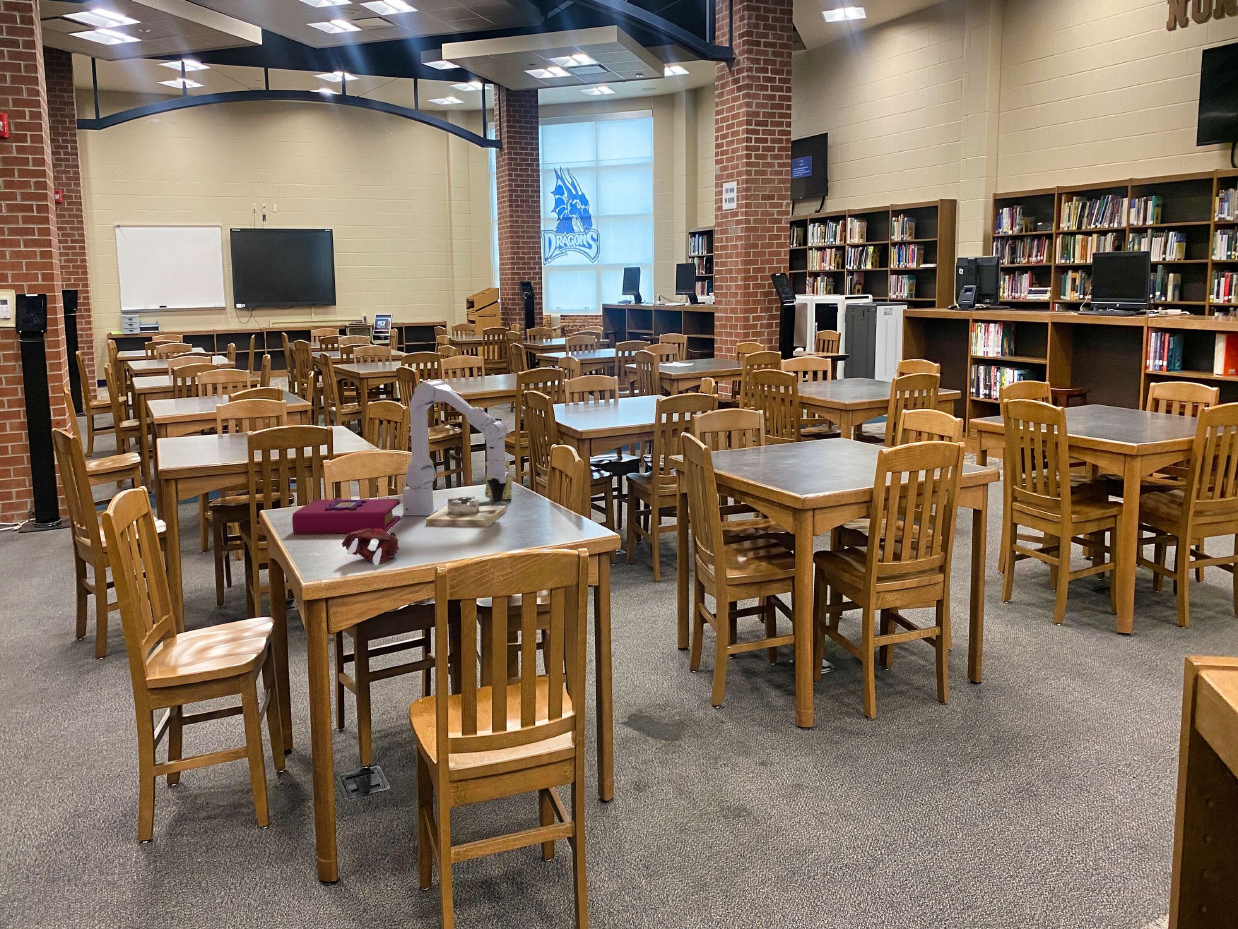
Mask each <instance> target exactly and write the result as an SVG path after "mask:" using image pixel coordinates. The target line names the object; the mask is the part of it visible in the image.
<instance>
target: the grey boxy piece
mask: <svg viewBox="0 0 1238 929" xmlns="http://www.w3.org/2000/svg"><path fill="white" fill-rule="evenodd" d="M490 496H491V500H483V501H480V500H479V499H476V497H475V495H473V496H472V495H467V496H460V497H455V496H454V497H453V496H452V497H448V498H447V505H448V514H451V515H471V514H476V513H478V512H479V511H480V510H479V506H492V505H494V506H498V505H497V504H498V502H494V500H493V496H492V492H491V491H490Z"/></svg>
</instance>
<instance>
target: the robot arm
mask: <svg viewBox="0 0 1238 929" xmlns="http://www.w3.org/2000/svg"><path fill="white" fill-rule="evenodd" d="M413 392H414V393H413V395H412V398H411V400H410V403H409V418H410V440H411V442H410V444H411V459H410V460H409V461H408V462H409V463H408V464H407V470H406V473H405V477H404V478H405V482H406V484H407V485H408V486H405V487H404V488H403V491H402V509H403V510H402V512H403V513H402V516H426V517H427V516H428V517H429V516H431V515H433V514H434V513H436V512H437V511H439V509H437V508H434V490H433V485H434V483H433V482H434V481H435V479H436V476H437V473H436V472H437V471H436V469H435V468H434V462H433V460H432V458H431V457H430V451H429V450H430V449H429V444H430V443H429V428H428V427H429V425H428V424H429V422H428V419H429V418H428V410H429V408H430V407H431V406H432V405H434V404H435V403H447V404H449V405H450V406H451V407H453V408H454V409H456V410H457V411H458V412H460V413H462V414H463V415H464V416H465V418H466V419H465V420H466V422H468V423H469V425H471V426H473V427H474V428H475V429H476V430H478V431H479V432H480V433H482V436H483V438H484V439H485V442H486V444H485V445H486V462H487V466H486V476H487V477H491V478H492V479H491V480H487V483H488V484H489V486H490V489H491V492H492V496H493V500H494V502H497V503H501V502H502V500H503V498H502V496H503V491H504V488H505V486H506V484H507V481H506V477H507V476H506V475H509V476H510V471H509V472H506V470H507V468H506V467H505V460H506V444H505V437H506V436H507V434H508V428H507V425H506V423H504V421H502V420H496V418H495V417H494V416H491V415H489V413H487V412H485V409H484V408H483V406H481V407H480V406H475V407H473V406H472V405H471V404H469V403H468V402H467V401H466V400H465V399H464V398H463V397H461V396H460V395H459V394H458V393H456V392H455V390H453V389H452V388H451V386H450V385H448V384H447V383H445V382H444V381H443V380H440V379H437V380H432V381H427V382H426V381H425V382H420V383H419V384H418V385H417V386H415V387H414V389H413ZM487 472H488V473H487Z"/></svg>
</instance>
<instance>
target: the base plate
mask: <svg viewBox="0 0 1238 929" xmlns="http://www.w3.org/2000/svg"><path fill="white" fill-rule="evenodd" d="M506 508H507V507H506V505H494V506H492V505H489V506H479V510H480V511H479V512H478V513H476V514H471V515H451V514H448V504H446V505H444V506H443V507H441V508H440V509H438V511H436V512H435V513H433V514H432V515H430V516H428V517H426V518H425V525H426V526H438V525H450V526H449V527H451V526H452V527H453V526H454V527H489V526H490V525H492V524H493V523H494V522H496V521H497V520H498V519H499V518H500V517H502V516H501V515H504V514H505V513H506V512H507V509H506Z"/></svg>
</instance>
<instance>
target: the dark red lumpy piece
mask: <svg viewBox="0 0 1238 929" xmlns="http://www.w3.org/2000/svg"><path fill="white" fill-rule="evenodd" d="M396 535H397V534H396V532H390V533H388V532H385V531H384V530H382V529H381V528H379V529H372V528H371V529H370V528H367V529H363V530H358V531H354V532H351V533H349V534H346V536H345V538H344V539H343V541H342V543H341V545H342V548H344V547H345V549H346V550H347V552H346V554H348V555H354V556H356V555H359V556H361V557H362V558H363V559H365V560H366V561H368V560H370V562H373V564H374V565H375V566H378V565H379V564H380V563H382V564H383V563H385V562H389V560H390V557H391V558H392V557H395V555H396V554H398V551H399V550H400V547H399V539H398V538H397V537H396Z"/></svg>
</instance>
